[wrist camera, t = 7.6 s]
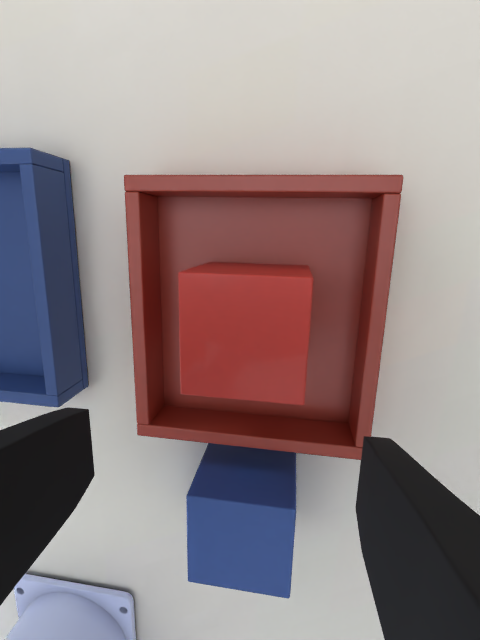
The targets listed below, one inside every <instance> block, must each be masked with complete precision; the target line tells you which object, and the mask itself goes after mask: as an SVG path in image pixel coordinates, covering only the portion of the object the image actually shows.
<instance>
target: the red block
mask: <svg viewBox="0 0 480 640" xmlns="http://www.w3.org/2000/svg"><path fill="white" fill-rule="evenodd" d="M313 280H314V279H313V276H312V274H311V271H310V269H309V266H308V265H286V264H257V263H229V262H208V263H205V264H202V265H199V266H196V267H193V268H190V269H186V270H183V271H180V272H179V273H178V290H179V342H180V392H181V394H184V395H195V396H206V397H217V398H228V399H239V400H250V401H261V402H272V403H282V404H293V405H304V404H305V390H306V377H307V363H308V349H309V335H310V322H311V308H312V294H313Z"/></svg>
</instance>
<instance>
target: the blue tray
mask: <svg viewBox="0 0 480 640" xmlns="http://www.w3.org/2000/svg"><path fill="white" fill-rule="evenodd" d="M86 387H88V374H87V363H86V351H85V339H84V328H83V316H82V305H81V293H80V281H79V270H78V258H77V247H76V235H75V223H74V212H73V200H72V189H71V177H70V165H69V160H66V159H63V158H60V157H57V156H54V155H51V154H48V153H44V152H41V151H38V150H35V149H32V148H0V401H1V402H11V403H20V404H30V405H40V406H50V407H60V406H61V405H63V404H64V403H65V402H67V401H68V400H70V399H71V398H72V397H74V396H75V395H76V394H78V393H79V392H81V391H82V390H83V389H85V388H86Z"/></svg>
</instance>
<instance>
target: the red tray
mask: <svg viewBox="0 0 480 640" xmlns="http://www.w3.org/2000/svg"><path fill="white" fill-rule="evenodd" d="M402 184H403V175H124V186H125V191H127V192H125V204H126V224H127V243H128V262H129V281H130V300H131V319H132V338H133V358H134V377H135V396H136V415H137V423H138V424H137V434H138V435H141V436H150V437H159V438H168V439H177V440H186V441H195V442H204V443H213V444H222V445H231V446H240V447H249V448H258V449H267V450H276V451H285V452H294V453H303V454H312V455H321V456H330V457H339V458H348V459H357V460H361V457H362V448H363V439H364V436H368V437H371V431H372V423H373V415H374V407H375V399H376V391H377V384H378V376H379V368H380V360H381V352H382V344H383V336H384V328H385V320H386V312H387V304H388V296H389V288H390V280H391V272H392V264H393V256H394V248H395V240H396V232H397V224H398V216H399V208H400V200H401V194H399V193H401V191H402ZM208 262H229V263H257V264H286V265H308V266H309V269H310V271H311V274H312V276H313V279H314V280H313V294H312V308H311V322H310V335H309V349H308V363H307V377H306V390H305V404H304V405H293V404H282V403H272V402H261V401H250V400H239V399H228V398H217V397H206V396H195V395H184V394H181V392H180V342H179V290H178V273H179V272H180V271H183V270H186V269H190V268H193V267H196V266H199V265H202V264H205V263H208Z"/></svg>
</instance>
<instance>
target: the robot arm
mask: <svg viewBox="0 0 480 640" xmlns="http://www.w3.org/2000/svg"><path fill="white" fill-rule="evenodd" d="M93 477H94V464H93V453H92V442H91V430H90V419H89V410H88V409H78V408H64V409H60V410H57V411H53V412H50V413H47V414H44V415H41V416H38V417H35V418H33V419H30V420H27V421H24V422H22V423H19V424H16V425H14V426H11V427H8V428H6V429H3V430H0V605H1V604H2V603H3V601H4V600H5V599H6V597H7V596H8V595H9V593H10V592H11V591H12V590H13V588H14V592H15V598H16V604H17V610H18V616H19V620H18V621H17V623H16V624H15V625H14V627H13V628H12V630H11V631H10V632H9V634H8V635H7V637H6V638H5V639H4V640H136V633H135V617H134V602H133V597H132V595H131V594H130V593H128V592H124V591H119V590H113V589H108V588H102V587H96V586H91V585H85V584H80V583H74V582H68V581H63V580H57V579H52V578H46V577H40V576H35V575H29V574H25V573H26V572H27V570H28V569H29V568H30V567H31V565H32V564H33V563H34V561H35V560H36V559H37V558H38V556H39V555H40V554H41V553H42V551H43V550H44V549H45V547H46V546H47V545H48V544H49V542H50V541H51V540H52V538H53V537H54V536H55V535H56V533H57V532H58V531H59V529H60V528H61V527H62V525H63V524H64V523H65V521H66V520H67V519H68V518H69V516H70V515H71V513H72V512H73V511H74V509H75V508H76V506H77V504H78V503H79V501H80V500H81V498H82V496H83V495H84V493H85V491H86V489H87V488H88V486H89V484H90V482H91V481H92V479H93ZM356 514H357V521H358V529H359V535H360V542H361V549H362V554H363V558H364V562H365V566H366V570H367V573H368V577H369V581H370V585H371V589H372V593H373V597H374V600H375V604H376V608H377V612H378V616H379V619H380V623H381V627H382V631H383V635H384V638H385V640H480V516H479V515H478V514H477V513H476V512H474V511H473V510H472V509H471V508H470V507H468V506H467V505H466V504H465V503H463V502H462V501H461V500H460V499H459V498H457V497H456V496H455V495H454V494H453V493H452V492H450V491H449V490H448V489H447V488H446V487H445V486H443V485H442V484H441V483H440V482H439V481H438V480H437V479H435V478H434V477H433V476H432V475H431V474H430V473H429V472H428V471H426V470H425V469H424V468H423V467H422V466H421V465H420V464H419V463H418V462H416V461H415V460H414V459H413V458H412V457H411V456H410V455H409V454H408V453H407V452H405V451H404V450H403V449H402V448H401V447H400V446H399V445H397V444H396V443H395V442H394V441H393V440H391V439H389V438H379V437H368V436H364V439H363V448H362V457H361V465H360V474H359V483H358V492H357V501H356Z"/></svg>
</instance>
